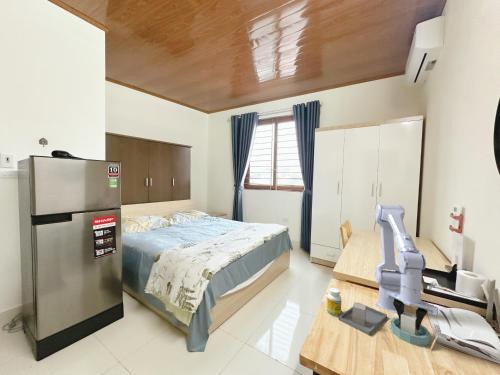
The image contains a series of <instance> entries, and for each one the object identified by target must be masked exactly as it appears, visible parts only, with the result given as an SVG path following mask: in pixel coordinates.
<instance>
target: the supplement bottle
mask: <svg viewBox="0 0 500 375" xmlns="http://www.w3.org/2000/svg"><path fill="white" fill-rule="evenodd" d="M326 298H327V299H326V305H327V306H326V311H327V314H328V315H330V316H331V317H335V318H339V316H340V315H342V296H341V292H340V290H339V288H335V287H330V288H328V293H327V296H326Z"/></svg>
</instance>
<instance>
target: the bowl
mask: <svg viewBox="0 0 500 375" xmlns="http://www.w3.org/2000/svg"><path fill="white" fill-rule="evenodd" d="M390 331H391V333H392V334H393V335H394V336H396V337H397V338H398V339H400V340H401V341H404V342H406V343H408V344H410V345H414V346H419V347H423V346H424V347H425V346H429V344H430V342H431V332H430V331H429V330H428V328H427V327H425V326H424V325H422V324H421V325H420V329H419V331H418V334H417V336H416V335H412V334H409V333H406V332H404V331H402V330H401V323H400V321H399V316H398V317H393V318H392V319H391V320H390Z"/></svg>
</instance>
